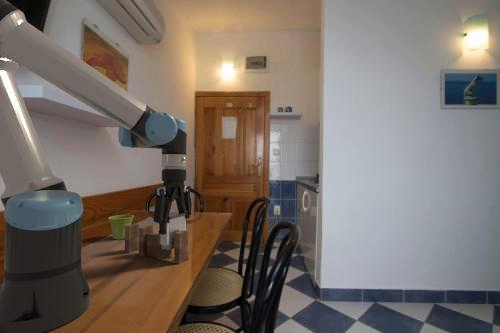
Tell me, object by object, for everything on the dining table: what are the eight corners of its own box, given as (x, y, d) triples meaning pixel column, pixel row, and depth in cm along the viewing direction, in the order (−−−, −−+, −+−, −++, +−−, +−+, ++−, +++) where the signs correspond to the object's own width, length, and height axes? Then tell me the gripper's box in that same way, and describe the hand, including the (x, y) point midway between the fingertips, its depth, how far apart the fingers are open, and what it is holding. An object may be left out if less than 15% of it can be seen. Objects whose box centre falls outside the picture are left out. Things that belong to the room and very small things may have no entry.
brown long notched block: (179, 263, 76) (179, 233, 76) (124, 252, 86) (125, 225, 86) (188, 259, 79) (188, 230, 79) (134, 249, 89) (134, 223, 89)
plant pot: (104, 241, 98) (105, 219, 98) (111, 235, 107) (112, 215, 107) (130, 240, 100) (131, 218, 100) (135, 234, 109) (136, 214, 109)
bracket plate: (169, 250, 75) (169, 216, 76) (161, 248, 77) (161, 215, 77) (184, 243, 82) (185, 213, 82) (177, 242, 83) (177, 212, 83)
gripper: (159, 168, 69) (158, 252, 69) (202, 168, 87) (202, 235, 87) (139, 168, 72) (139, 248, 72) (185, 168, 90) (184, 232, 90)
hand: (173, 241), depth 79 cm, fingers closed on bracket plate, 7 cm apart
